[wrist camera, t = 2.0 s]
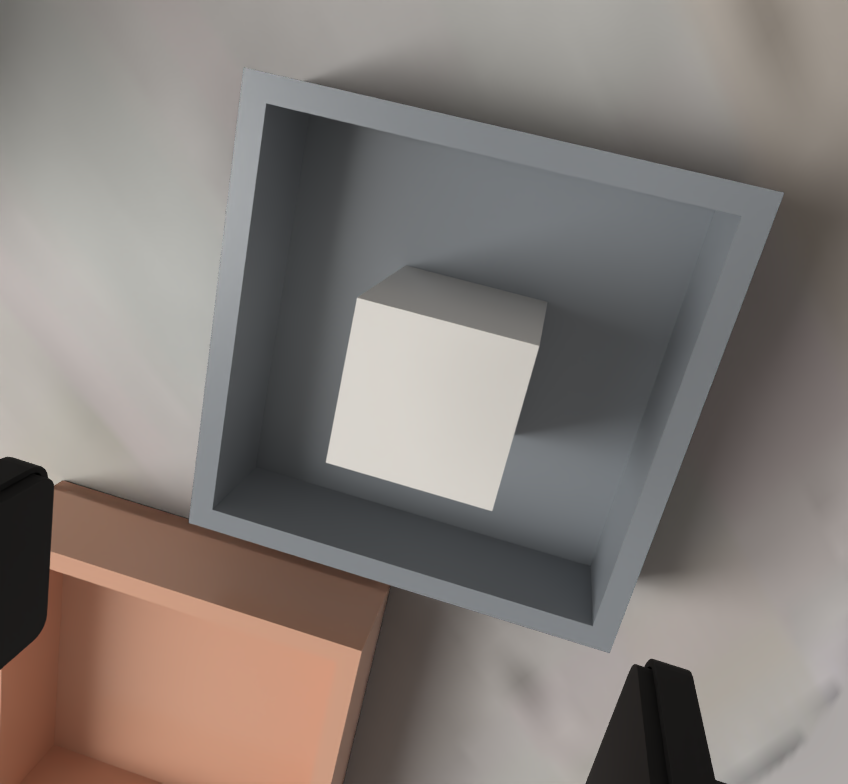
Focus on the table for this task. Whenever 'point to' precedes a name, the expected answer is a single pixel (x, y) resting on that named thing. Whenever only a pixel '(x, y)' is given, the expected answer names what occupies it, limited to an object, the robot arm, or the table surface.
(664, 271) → the bin
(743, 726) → the table surface
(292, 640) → the bin
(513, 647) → the table surface
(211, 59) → the table surface
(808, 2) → the table surface
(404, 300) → the stone block
